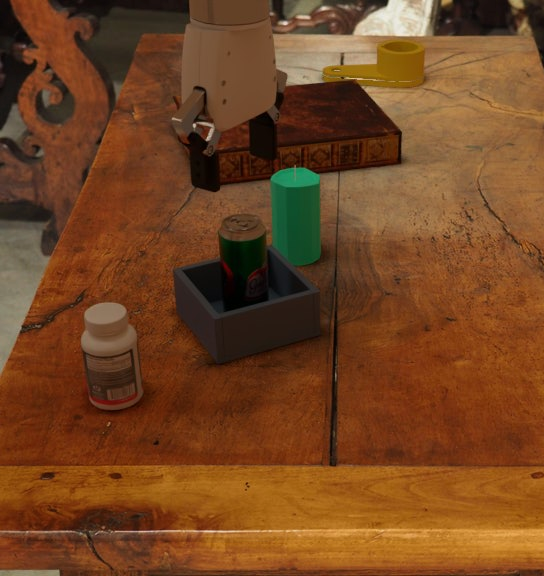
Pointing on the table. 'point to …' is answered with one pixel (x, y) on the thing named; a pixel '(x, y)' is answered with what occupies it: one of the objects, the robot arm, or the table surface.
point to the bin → (247, 309)
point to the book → (314, 134)
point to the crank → (386, 66)
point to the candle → (296, 215)
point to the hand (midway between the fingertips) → (235, 172)
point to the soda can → (243, 261)
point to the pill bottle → (111, 357)
